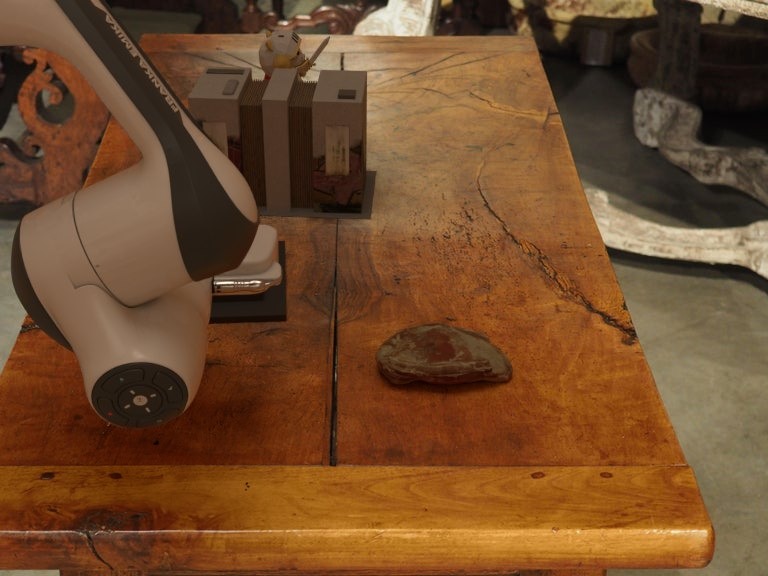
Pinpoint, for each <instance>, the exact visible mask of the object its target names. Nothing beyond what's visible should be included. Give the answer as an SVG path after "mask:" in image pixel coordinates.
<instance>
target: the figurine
mask: <svg viewBox="0 0 768 576" xmlns="http://www.w3.org/2000/svg"><path fill="white" fill-rule="evenodd" d="M265 36H266V38H265V39H264V40H263V41H262V43H261V44H260V46H259V49H258V61H259V65H260V68H261V71H263V73H264V76H263V80H264V81H265V80H266V81H267V80H268V82H269V80H270V79H271V76H272V74H273V71H274V69H275V68H281V69H298V80H299V82H300V81H301V83H302V81H304V79H302V78H304V77H306V76H307V75H308V74H307V73H308V72H309V70H311V68H313V67H316V66H317V63H316V61H317V59H318V58H319V56H320V55H321V53H322V52H323V51H324V49H325V48H326V47H327V46H328V44H329V41H330V39H331V36H330V35H329V36H327V37H326V38H324V39H323V40H322V42H321V43H320V44H319V46H318V47H317V48H316V50H315V51H314V52H313V54H312V55H311V57H309V56H307V57H306V54H305V53H303V50H302V49H301V44H302V40H303V39H302V38H301V37H300V36H299V35H298V33H297V32H295V30H294V29H277V30H274V31H270V30H267V29H266V33H265Z"/></svg>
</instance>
